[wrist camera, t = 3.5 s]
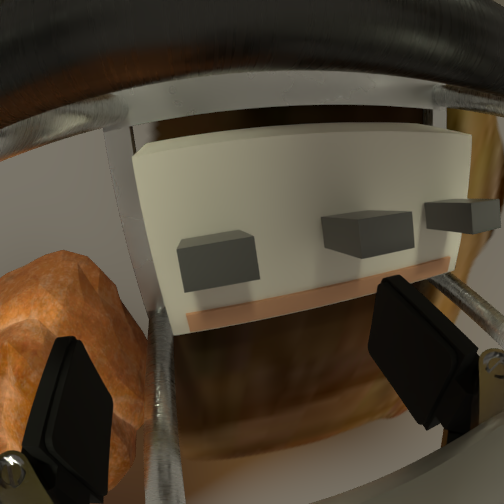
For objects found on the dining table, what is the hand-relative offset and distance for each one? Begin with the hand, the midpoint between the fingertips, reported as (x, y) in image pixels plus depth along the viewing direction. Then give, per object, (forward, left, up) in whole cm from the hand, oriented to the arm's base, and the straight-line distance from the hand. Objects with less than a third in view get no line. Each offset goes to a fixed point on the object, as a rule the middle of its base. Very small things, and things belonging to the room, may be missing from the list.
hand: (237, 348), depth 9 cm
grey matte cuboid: (0, +14, -7) cm, 16 cm away
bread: (+9, -19, -14) cm, 26 cm away
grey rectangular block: (0, 0, -7) cm, 7 cm away
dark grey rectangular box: (0, +7, -7) cm, 10 cm away
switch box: (0, +7, -13) cm, 15 cm away
